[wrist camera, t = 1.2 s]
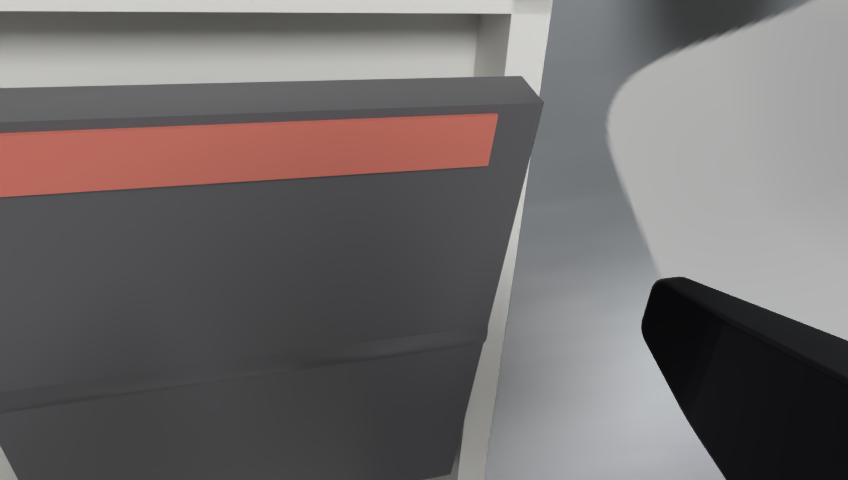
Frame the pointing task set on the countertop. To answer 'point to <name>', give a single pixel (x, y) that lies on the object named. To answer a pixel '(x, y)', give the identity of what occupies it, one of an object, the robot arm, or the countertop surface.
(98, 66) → the breaker box
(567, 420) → the countertop surface
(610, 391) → the countertop surface
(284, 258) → the panel
